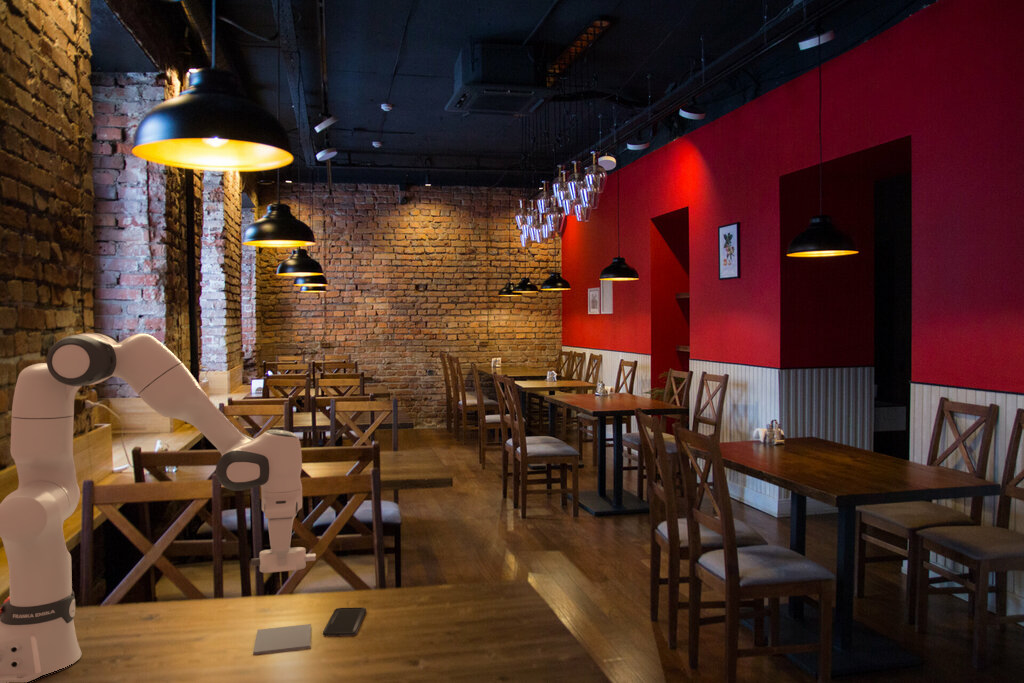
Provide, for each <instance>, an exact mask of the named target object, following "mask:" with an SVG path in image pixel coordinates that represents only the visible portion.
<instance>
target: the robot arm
mask: <svg viewBox="0 0 1024 683" xmlns="http://www.w3.org/2000/svg"><path fill="white" fill-rule="evenodd" d="M114 377H115V378H119V379H121V380H123V381H125V383H126V384H127V385H128V386H130V387H131V388H132V389H133V391H134V392H135V393H136V394H137V395H138V396H139V398H140V399H141V400H142V401H143V402H144V403H145V404H146V405H147V406H149V408H151V409H152V410H154V411H155V412H156V413H158V414H159V415H160V416H162V417H165V418H171V419H176V420H179V421H183V422H185V423H188V424H190V425H191V426H193V427H195V428H196V429H197V430H198V431H199V432H200V433H201V434H202V435H203V436H204V437H205V438H206V439H207V440H208V441H209V442H210V443H211V444H212V445H213V446H214V447H215V448H216V449H217V450H218V452H219V453H220V454H221V457H220V458H219V459H218V460H217V463H216V465H215V466H216V467H215V476H216V478H217V481H218V482H219V484H220V485H221V486H222V487H224V488H225V489H227V490H229V491H235V492H236V491H237V492H238V491H244V490H249V489H254V488H257V487H261V488H260V489H261V511H262V512H263V514H264V518H265V519H266V520H267V526H268V535H269V546H270V549H271V551H272V553H273V554H277V558H278V566H279V567H280V566H285V565H286V553H288V552H289V549H290V548H291V540H292V534H293V533H292V531H293V525H294V519H295V518H296V516H297V514H298V512H299V511H300V510H301V509H302V508H303V484H302V480H301V474H302V470H303V459H302V458H303V455H302V454H303V453H302V446H301V441H300V438H299V437H298V435H297V434H295V433H294V432H291V431H290V430H283V429H268V430H265V431H264V432H263V433H262V434H259V436H257V437H256V438H253V437H251V436H248V435H246V434H245V433H243V432H242V431H241V430H240V429H239V428H237V427H236V426H235V425H234V423H233V422H232V421H231V420H230V419H229V418H228V417H227V416H226V415H225V414H224V413H223V412H222V410H220V409H219V408H218V407H217V406H216V405H215V403H214V402H212V400H211V399H210V398H209V395H207V393H206V392H205V390H203V387H202V386H201V385H200V383H199V382H198V381H197V379H196V377H194V375H193V374H192V373H191V371H190V370H189V369H188V368H187V366H185V364H184V363H183V361H181V360H180V358H179V357H178V356H177V355H175V354H174V353H173V352H172V351H171V350H170V349H169V348H168V347H167V346H166V345H164V344H163V343H162V342H160V340H158V339H157V338H155V336H153V335H150V334H148V333H135V334H133V335H130V336H129V337H126V338H124V339H123V340H121V341H119V340H117V338H115V337H113V336H112V335H109V334H105V333H100V332H98V333H96V332H83V333H82V332H81V333H79V334H71V335H67V336H65V337H62V338H61V339H59V340H57V342H55V343H54V344H53V345H52V346H51V348H50V349H49V351H48V352H47V357H46V362H44V363H43V362H40V363H34V364H31V365H29V366H26V367H25V368H24V369H22V370H21V371H20V372H19V375H18V377H17V379H16V384H15V388H14V393H13V398H12V408H11V424H10V426H11V427H10V428H11V429H10V452H9V453H10V455H11V458H12V459H13V461H14V463H15V466H16V472H17V478H18V487H17V489H16V490H14V491H12V492H10V493H9V494H8V495H6V496H5V497H4V499H3V500H2V501H1V502H0V538H1V541H2V544H3V548H4V552H5V554H6V555H5V556H6V559H7V564H8V576H9V578H8V579H9V580H8V581H9V582H8V583H9V585H8V586H9V596H8V597H7V598H6V599H5V600H4V601H3V604H1V605H0V683H6V682H7V683H9V682H28V681H31V680H33V679H36V678H38V677H40V676H42V675H45V674H48V673H51V672H54V671H57V670H59V669H62V668H64V669H66V668H68V667H70V666H72V665H73V664H75V663H76V662H77V661H78V660H80V658H81V657H82V654H83V653H82V650H81V648H80V644H79V642H78V641H79V640H78V638H77V633H76V628H75V622H74V618H75V615H76V614H75V613H76V598H75V592H74V590H73V588H72V587H73V583H72V582H73V581H72V577H73V576H72V555H71V553H70V552H69V551H68V548H67V544H66V540H65V536H64V530H63V529H64V528H63V527H64V522H65V521H66V520H67V519H68V518H70V517H71V516H72V515H73V514H74V513H75V511H76V509H77V507H78V505H79V502H80V499H81V490H80V487H79V484H78V480H77V478H78V477H77V471H76V466H75V459H74V424H75V423H74V422H75V421H74V420H75V419H74V418H75V398H76V395H77V392H78V390H80V389H81V387H84V386H92V385H93V386H94V385H97V384H101V383H102V382H105V381H108V380H110V379H112V378H114ZM71 664H72V665H71ZM69 665H70V666H69ZM67 666H68V667H67ZM65 667H66V668H65ZM62 670H63V669H62ZM59 671H60V670H59ZM57 672H58V671H57ZM54 673H55V672H54ZM51 674H52V673H51ZM48 675H49V674H48ZM45 676H46V675H45Z"/></svg>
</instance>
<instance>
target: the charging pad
mask: <svg viewBox="0 0 1024 683" xmlns="http://www.w3.org/2000/svg"><path fill="white" fill-rule="evenodd" d="M311 627H312V626H311V623H309V624H308V623H307V624H306V623H305V624H298V625H288V626H280V627H279V626H278V627H272V628H271V627H270V628H269V627H268V628H261V629H257V630H256V637H255V640H254V645H253V646H254V647H253V652H252V653H253V654H252V655H253V656H254V655H255V656H256V655H263V654H272V653H281V652H291V651H298V650H308V649H311V637H312V636H311V634H312V632H311V630H312V629H311Z"/></svg>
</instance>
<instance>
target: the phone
mask: <svg viewBox="0 0 1024 683" xmlns="http://www.w3.org/2000/svg"><path fill="white" fill-rule="evenodd" d="M366 613H367V608H366V607H337V608H335V609H334V611H333V613H332V614H331V616H330V618H329V619H328V622H327V623H326V625H325V627H324V628H323V630H322V635H325V636H324V637H326V636H330V637H354V636H357V635H358V632H359V630H360V628H361V624H362V623H361V622H363V620H364V618H365V616H366ZM358 629H359V630H358ZM353 635H354V636H353Z"/></svg>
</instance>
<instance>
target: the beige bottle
mask: <svg viewBox="0 0 1024 683" xmlns="http://www.w3.org/2000/svg"><path fill="white" fill-rule="evenodd" d="M306 550H307V549H306V547H301V546H296V547H290V549H289V552H288V553H286V565H285V566H280V567H279V566H278V558H277V554H273V553H272V551H271V548H270V549H263V550H261V551H259V557H258V558H256V557H255V558H251V559H250V567H257V566H259V572H261V573H263V574H265V573H266V574H267V573H278V572H280V573H281V572H289V571H300V570H303V569H305V568H306V567H307V566H306V565H307V564H306V562H312V561H313V562H314V561H316V559H317V558H316V556H317V554H316V553H306V552H307V551H306Z"/></svg>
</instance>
